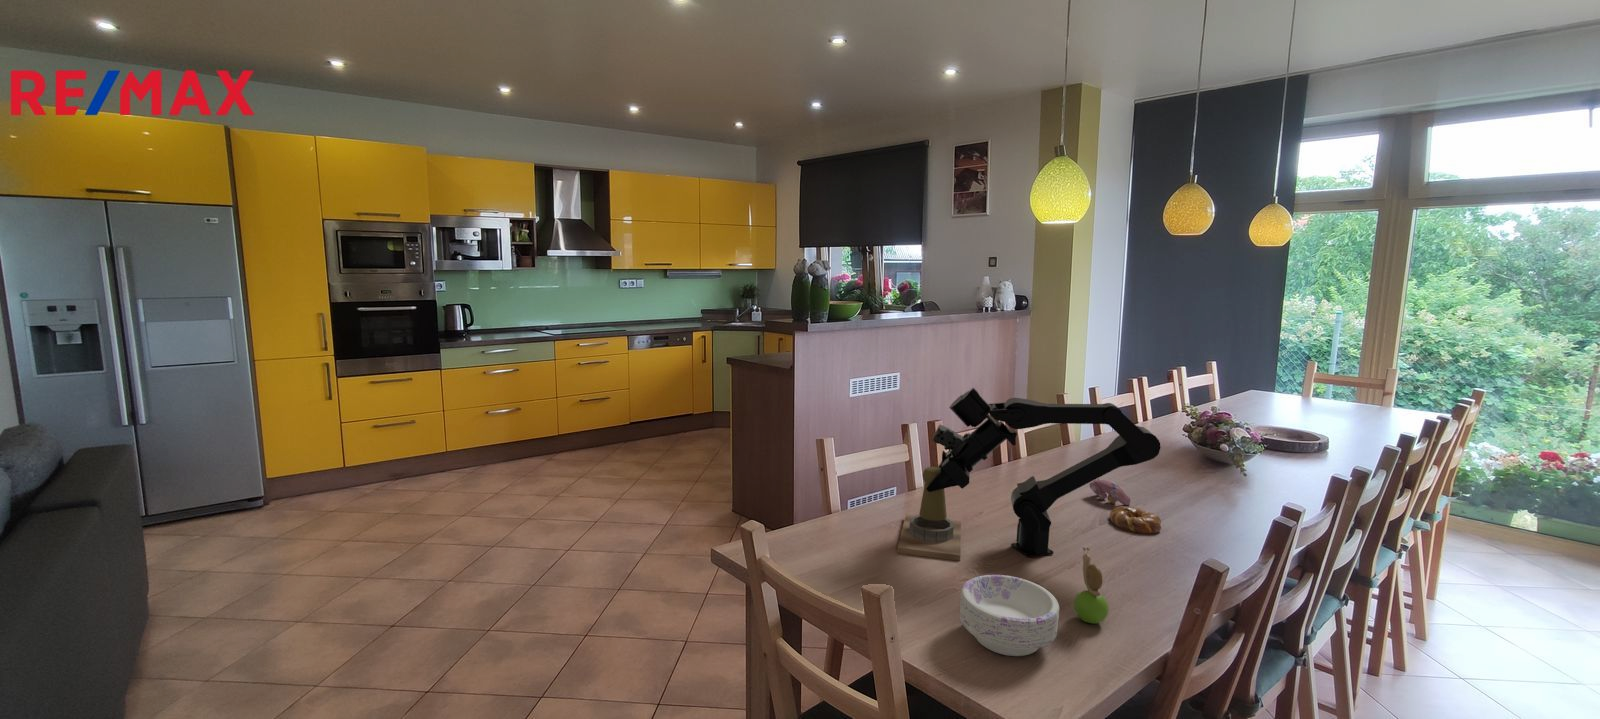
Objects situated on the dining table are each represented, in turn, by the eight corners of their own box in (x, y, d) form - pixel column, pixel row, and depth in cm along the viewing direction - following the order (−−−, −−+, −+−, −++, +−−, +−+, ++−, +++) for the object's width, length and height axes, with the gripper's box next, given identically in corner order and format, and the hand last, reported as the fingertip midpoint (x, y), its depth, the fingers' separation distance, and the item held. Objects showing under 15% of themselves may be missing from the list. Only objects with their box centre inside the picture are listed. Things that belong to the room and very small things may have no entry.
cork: (929, 508, 152) (931, 462, 151) (951, 515, 148) (954, 468, 146) (913, 515, 148) (915, 467, 146) (936, 522, 144) (939, 474, 142)
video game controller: (1090, 501, 181) (1084, 480, 179) (1102, 492, 183) (1095, 471, 180) (1122, 513, 172) (1115, 491, 170) (1133, 503, 174) (1127, 482, 172)
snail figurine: (1094, 610, 118) (1100, 546, 117) (1112, 629, 112) (1119, 562, 110) (1065, 610, 118) (1070, 546, 117) (1081, 629, 112) (1087, 562, 110)
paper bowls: (1017, 680, 97) (1020, 630, 96) (939, 633, 110) (941, 588, 109) (1075, 647, 106) (1079, 601, 105) (997, 607, 119) (1000, 565, 117)
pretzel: (1097, 520, 163) (1098, 506, 162) (1126, 514, 168) (1127, 500, 167) (1141, 539, 152) (1143, 523, 152) (1171, 531, 157) (1173, 516, 157)
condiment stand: (905, 519, 160) (906, 504, 159) (960, 525, 157) (961, 510, 156) (897, 552, 141) (898, 536, 140) (960, 560, 137) (961, 543, 137)
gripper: (956, 406, 153) (906, 449, 157) (955, 424, 135) (899, 471, 139) (989, 442, 152) (939, 484, 156) (993, 464, 134) (935, 511, 138)
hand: (928, 486), depth 147 cm, fingers closed on cork, 5 cm apart
